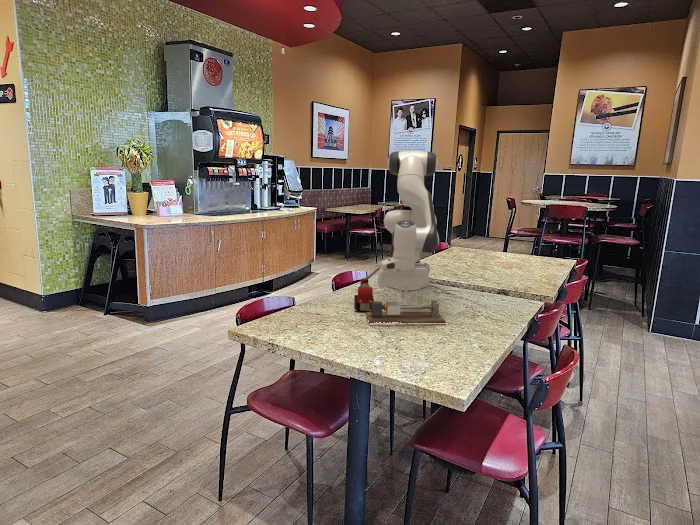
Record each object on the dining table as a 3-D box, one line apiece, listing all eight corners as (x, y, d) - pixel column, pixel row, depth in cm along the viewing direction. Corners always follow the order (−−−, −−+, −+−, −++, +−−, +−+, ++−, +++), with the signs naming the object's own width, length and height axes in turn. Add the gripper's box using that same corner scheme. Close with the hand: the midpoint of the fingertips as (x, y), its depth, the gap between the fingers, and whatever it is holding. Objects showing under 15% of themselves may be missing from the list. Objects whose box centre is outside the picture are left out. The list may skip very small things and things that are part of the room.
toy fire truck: (354, 312, 192) (355, 271, 189) (354, 302, 208) (355, 263, 204) (381, 313, 192) (383, 272, 189) (379, 302, 208) (380, 264, 204)
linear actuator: (365, 315, 189) (366, 297, 187) (437, 315, 192) (438, 297, 190) (369, 325, 177) (370, 306, 176) (445, 325, 180) (446, 306, 178)
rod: (370, 315, 185) (371, 301, 184) (435, 314, 187) (436, 301, 186) (372, 318, 181) (372, 304, 180) (437, 317, 183) (438, 303, 182)
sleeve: (385, 311, 185) (386, 289, 183) (398, 311, 186) (399, 289, 184) (387, 314, 181) (388, 292, 179) (400, 314, 182) (401, 292, 180)
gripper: (428, 261, 183) (426, 294, 186) (377, 261, 181) (376, 295, 184) (432, 264, 177) (430, 299, 180) (379, 264, 175) (378, 299, 178)
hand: (402, 297), depth 182 cm, fingers closed
